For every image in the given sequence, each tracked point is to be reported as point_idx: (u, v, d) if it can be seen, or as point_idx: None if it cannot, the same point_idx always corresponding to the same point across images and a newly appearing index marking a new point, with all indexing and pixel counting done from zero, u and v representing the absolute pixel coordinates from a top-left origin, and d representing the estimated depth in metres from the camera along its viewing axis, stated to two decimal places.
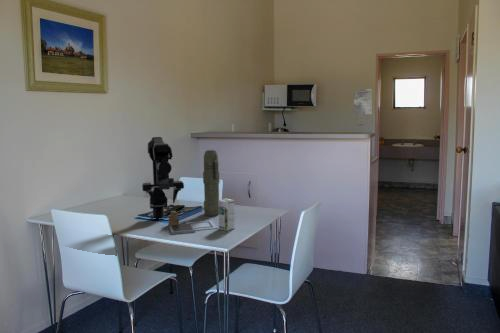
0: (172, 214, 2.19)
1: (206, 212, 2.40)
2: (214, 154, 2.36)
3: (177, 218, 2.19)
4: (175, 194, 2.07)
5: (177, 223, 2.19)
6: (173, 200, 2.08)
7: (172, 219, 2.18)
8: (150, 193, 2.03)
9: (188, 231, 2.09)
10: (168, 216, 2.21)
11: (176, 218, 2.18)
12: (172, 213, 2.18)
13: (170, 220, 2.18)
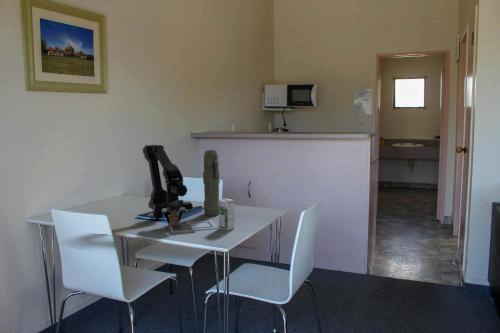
0: (172, 214, 2.19)
1: (206, 212, 2.40)
2: (214, 154, 2.36)
3: (177, 218, 2.19)
4: (180, 215, 2.20)
5: (177, 223, 2.19)
6: None
7: (172, 219, 2.18)
8: (165, 214, 2.17)
9: (188, 231, 2.09)
10: (168, 216, 2.21)
11: (176, 218, 2.18)
12: (172, 213, 2.18)
13: (170, 220, 2.18)
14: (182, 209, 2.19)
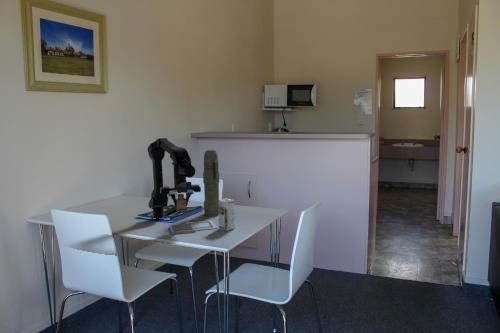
0: (179, 197, 2.10)
1: (206, 212, 2.40)
2: (214, 154, 2.36)
3: (185, 201, 2.10)
4: (188, 198, 2.12)
5: (185, 206, 2.11)
6: (186, 204, 2.12)
7: (179, 202, 2.10)
8: (173, 196, 2.09)
9: (188, 231, 2.09)
10: None
11: (184, 201, 2.10)
12: (179, 195, 2.10)
13: (177, 203, 2.09)
14: (190, 192, 2.11)
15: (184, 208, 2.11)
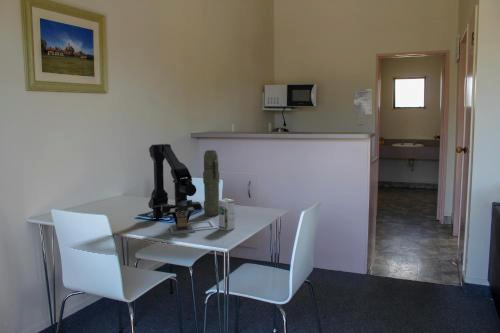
0: (180, 214, 2.12)
1: (206, 212, 2.40)
2: (214, 154, 2.36)
3: (185, 218, 2.12)
4: (188, 215, 2.13)
5: (185, 224, 2.12)
6: None
7: (180, 219, 2.11)
8: (173, 214, 2.10)
9: (188, 231, 2.09)
10: (176, 216, 2.14)
11: (184, 218, 2.11)
12: (180, 213, 2.11)
13: (178, 220, 2.11)
14: (190, 209, 2.12)
15: (185, 226, 2.12)
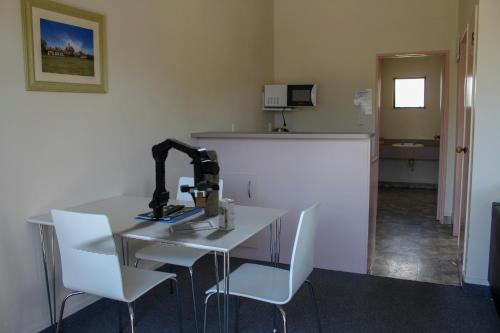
0: (199, 195, 2.17)
1: (206, 212, 2.40)
2: (214, 154, 2.36)
3: (204, 199, 2.17)
4: (207, 196, 2.18)
5: (204, 204, 2.17)
6: None
7: (199, 200, 2.16)
8: (193, 194, 2.15)
9: (188, 231, 2.09)
10: (195, 197, 2.20)
11: (203, 199, 2.17)
12: (199, 194, 2.17)
13: (197, 201, 2.16)
14: (209, 190, 2.18)
15: (203, 206, 2.17)
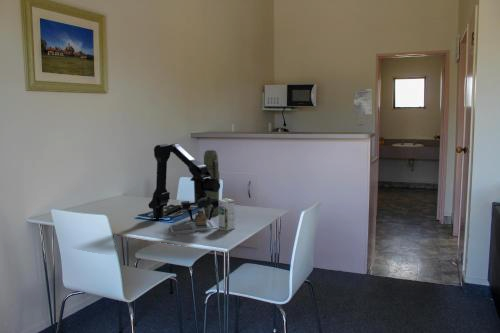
0: (199, 213, 2.18)
1: (206, 212, 2.40)
2: (214, 154, 2.36)
3: (204, 217, 2.18)
4: (211, 212, 2.20)
5: (204, 222, 2.19)
6: (209, 217, 2.21)
7: (200, 218, 2.18)
8: (189, 211, 2.16)
9: (188, 231, 2.09)
10: (195, 215, 2.21)
11: (204, 217, 2.18)
12: (199, 212, 2.18)
13: (198, 219, 2.17)
14: (213, 206, 2.20)
15: (204, 224, 2.19)
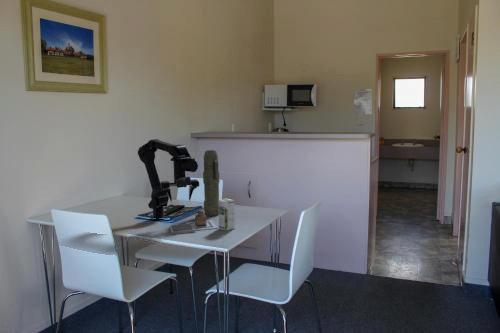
0: (199, 213, 2.18)
1: (206, 212, 2.40)
2: (214, 154, 2.36)
3: (204, 217, 2.18)
4: (191, 192, 2.23)
5: (204, 222, 2.19)
6: (189, 197, 2.23)
7: (200, 218, 2.18)
8: (168, 191, 2.19)
9: (188, 231, 2.09)
10: (195, 215, 2.21)
11: (204, 217, 2.18)
12: (199, 212, 2.18)
13: (198, 219, 2.17)
14: None
15: (204, 224, 2.19)
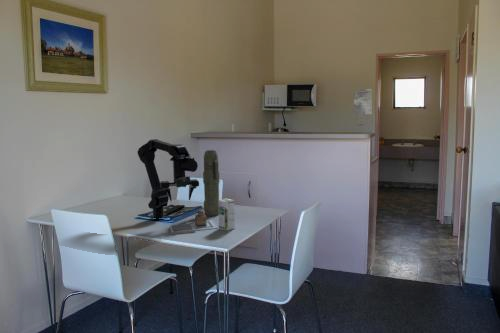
0: (199, 213, 2.18)
1: (206, 212, 2.40)
2: (214, 154, 2.36)
3: (204, 217, 2.18)
4: (191, 191, 2.23)
5: (204, 222, 2.19)
6: (189, 197, 2.23)
7: (200, 218, 2.18)
8: (168, 190, 2.19)
9: (188, 231, 2.09)
10: (195, 215, 2.21)
11: (204, 217, 2.18)
12: (199, 212, 2.18)
13: (198, 219, 2.17)
14: None
15: (204, 224, 2.19)
